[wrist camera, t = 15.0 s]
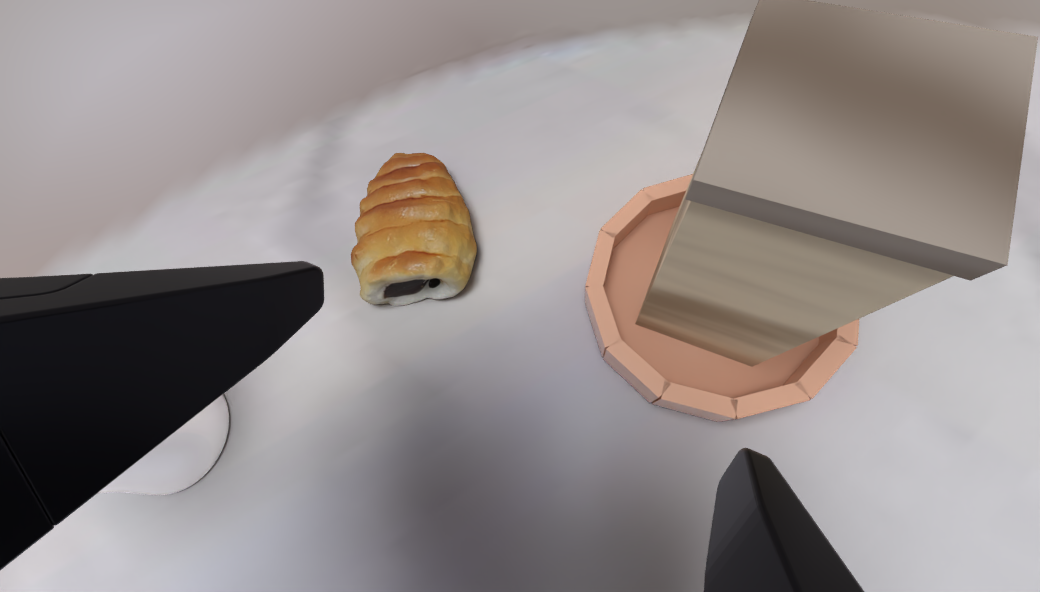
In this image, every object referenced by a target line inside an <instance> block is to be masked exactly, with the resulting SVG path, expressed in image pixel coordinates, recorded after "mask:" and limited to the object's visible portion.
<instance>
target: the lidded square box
mask: <svg viewBox="0 0 1040 592" xmlns="http://www.w3.org/2000/svg"><path fill="white" fill-rule="evenodd" d="M1037 40H1038V37H1036V36H1029V35H1023V34H1017V33H1010V32H1004V31H998V30H991V29H985V28H979V27H973V26H966V25H960V24H954V23H947V22H941V21H935V20H929V19H922V18H916V17H910V16H903V15H897V14H891V13H884V12H878V11H872V10H866V9H859V8H853V7H847V6H840V5H834V4H828V3H821V2H815V1H809V0H759V1H758V4H757V6H756V9H755V11H754V14H753V16H752V19H751V21H750V24H749V26H748V29H747V32H746V35H745V37H744V40H743V43H742V46H741V48H740V51H739V54H738V57H737V59H736V62H735V65H734V67H733V70H732V73H731V76H730V78H729V81H728V84H727V87H726V89H725V92H724V95H723V97H722V100H721V103H720V106H719V108H718V111H717V114H716V117H715V119H714V122H713V125H712V127H711V130H710V133H709V136H708V138H707V141H706V144H705V147H704V149H703V152H702V154H701V157H700V159H699V161H698V164H697V166H696V169H695V171H694V173H693V176H692V178H691V181H690V183H689V185H688V188H687V190H686V193H685V195H684V197H683V200H682V202H681V205H680V207H679V209H678V212H677V214H676V217H675V219H674V221H673V224H672V226H671V229H670V231H669V234H668V237H667V239H666V242H665V245H664V247H663V250H662V253H661V255H660V258H659V261H658V264H657V266H656V269H655V272H654V274H653V277H652V280H651V283H650V285H649V288H648V291H647V293H646V296H645V299H644V302H643V304H642V307H641V310H640V312H639V315H638V318H637V320H636V323H635V324H636V325H639V326H642V327H644V328H647V329H650V330H653V331H655V332H658V333H661V334H664V335H666V336H669V337H672V338H674V339H677V340H680V341H683V342H685V343H688V344H691V345H694V346H696V347H699V348H702V349H704V350H707V351H710V352H713V353H715V354H718V355H721V356H724V357H726V358H729V359H732V360H734V361H737V362H740V363H743V364H745V365H748V366H751V367H753V366H755V365H757V364H759V363H761V362H764V361H766V360H768V359H770V358H773V357H775V356H777V355H779V354H781V353H784V352H786V351H788V350H790V349H793V348H795V347H797V346H799V345H801V344H804V343H806V342H808V341H810V340H813V339H815V338H817V337H819V336H821V335H824V334H826V333H828V332H830V331H832V330H835V329H837V328H839V327H841V326H844V325H846V324H848V323H850V322H852V321H855V320H857V319H859V318H861V317H864V316H866V315H868V314H870V313H872V312H875V311H877V310H879V309H881V308H884V307H886V306H888V305H890V304H892V303H895V302H897V301H899V300H901V299H904V298H906V297H908V296H910V295H912V294H915V293H917V292H919V291H921V290H924V289H926V288H928V287H930V286H932V285H935V284H937V283H939V282H941V281H944V280H946V279H948V278H950V277H952V276H957V277H960V278H964V279H967V280H973V279H975V278H978V277H980V276H983V275H985V274H987V273H990V272H992V271H994V270H997V269H999V268H1002V267H1004V266H1006V265H1007V264H1008V256H1009V249H1010V241H1011V234H1012V226H1013V219H1014V212H1015V204H1016V197H1017V189H1018V182H1019V174H1020V167H1021V159H1022V152H1023V145H1024V137H1025V130H1026V122H1027V115H1028V107H1029V100H1030V92H1031V85H1032V77H1033V70H1034V63H1035V55H1036V48H1037Z"/></svg>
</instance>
